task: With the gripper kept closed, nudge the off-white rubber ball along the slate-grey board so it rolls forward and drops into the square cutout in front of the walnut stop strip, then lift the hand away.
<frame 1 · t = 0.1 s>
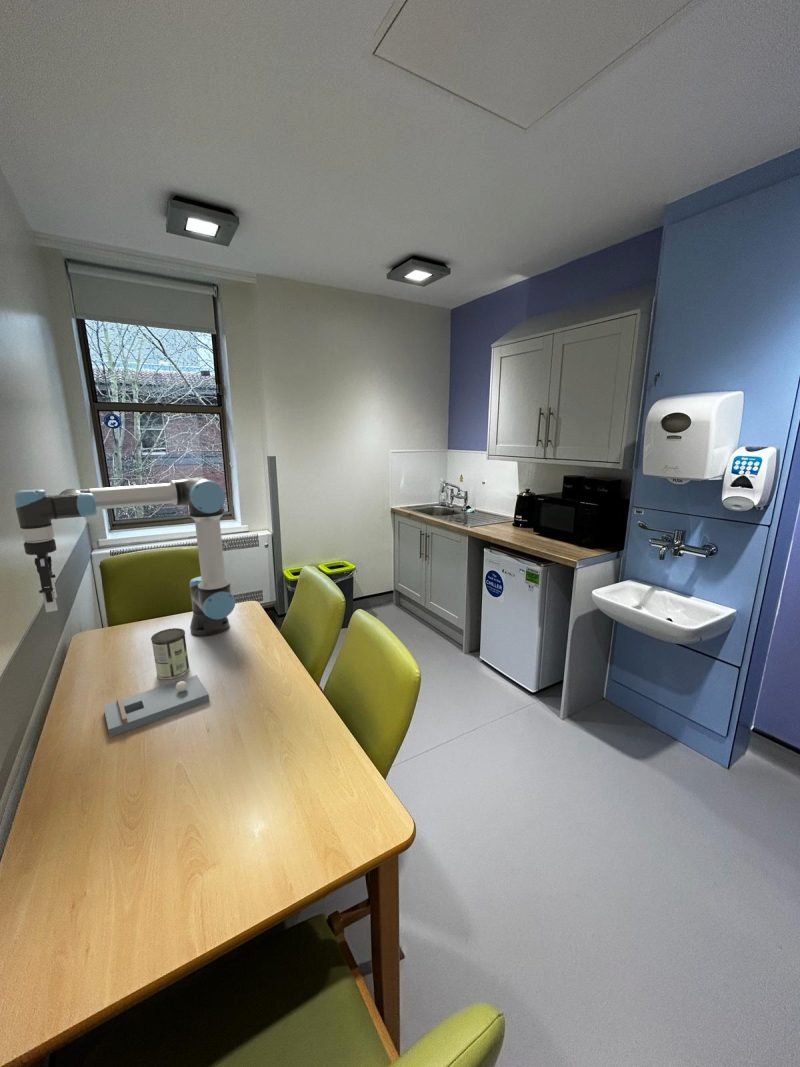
hand: (51, 604, 137), 28 cm above the table, fingers open, 13 cm apart
ball: (181, 686, 134), point 4 cm above the table, touching deck
deck: (158, 706, 131), on the table
coffee can: (173, 672, 150), on the table
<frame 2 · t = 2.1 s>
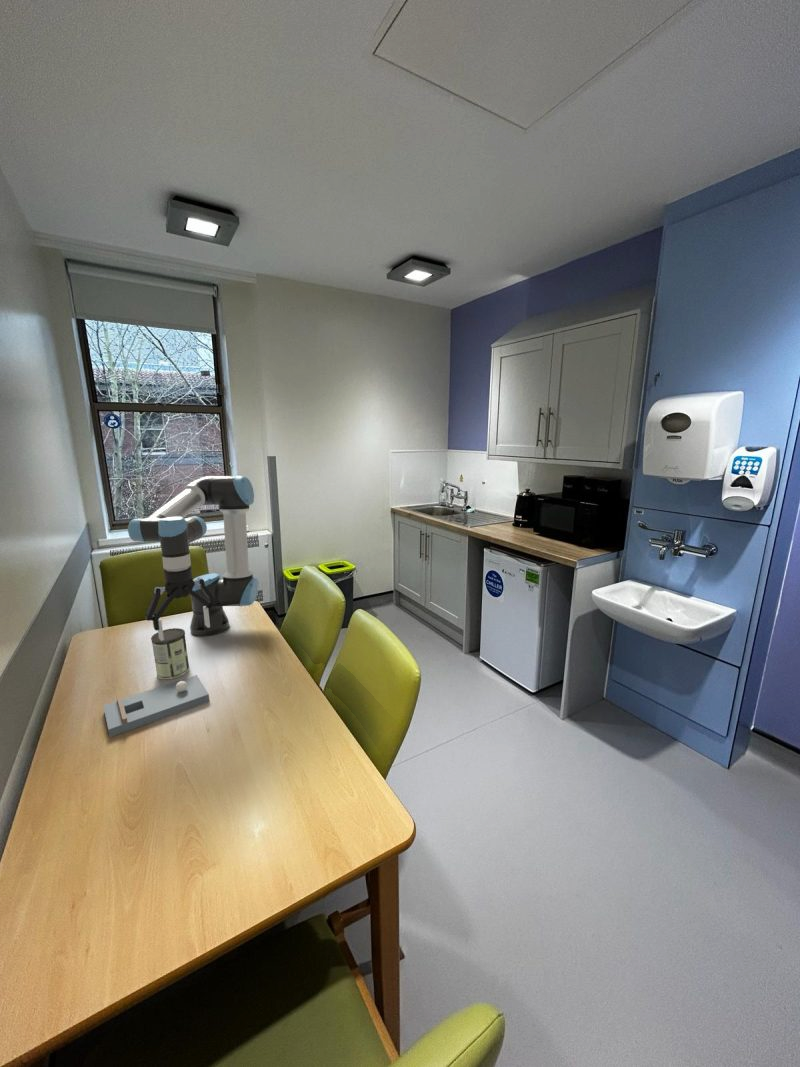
hand: (185, 632, 135), 20 cm above the table, fingers open, 13 cm apart
nothing on the table moved.
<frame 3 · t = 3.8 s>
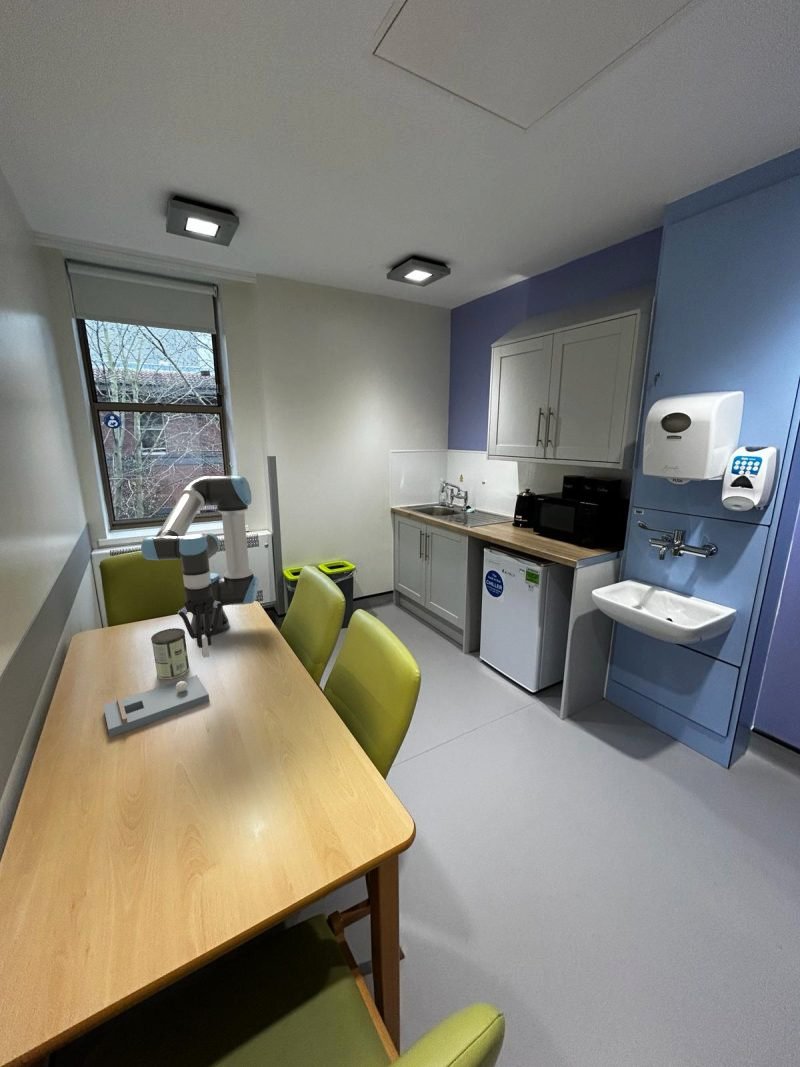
hand: (205, 655, 137), 12 cm above the table, fingers closed
nothing on the table moved.
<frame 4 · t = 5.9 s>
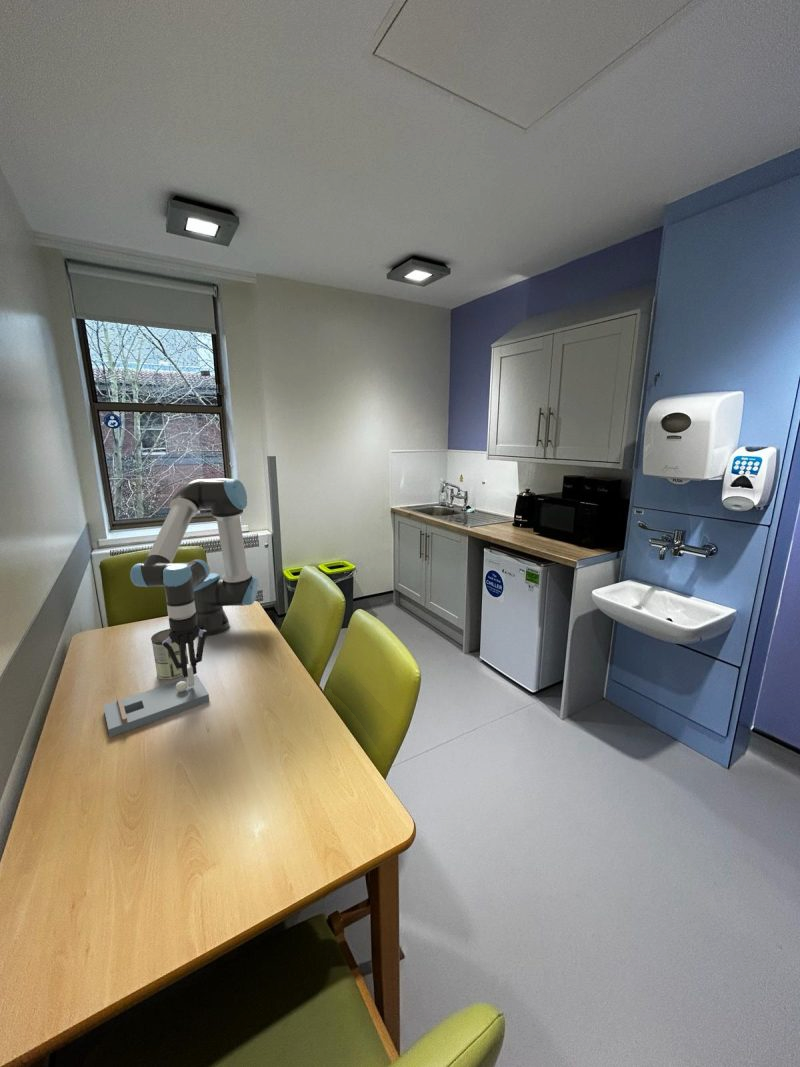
hand: (191, 684, 136), 4 cm above the table, fingers closed
nothing on the table moved.
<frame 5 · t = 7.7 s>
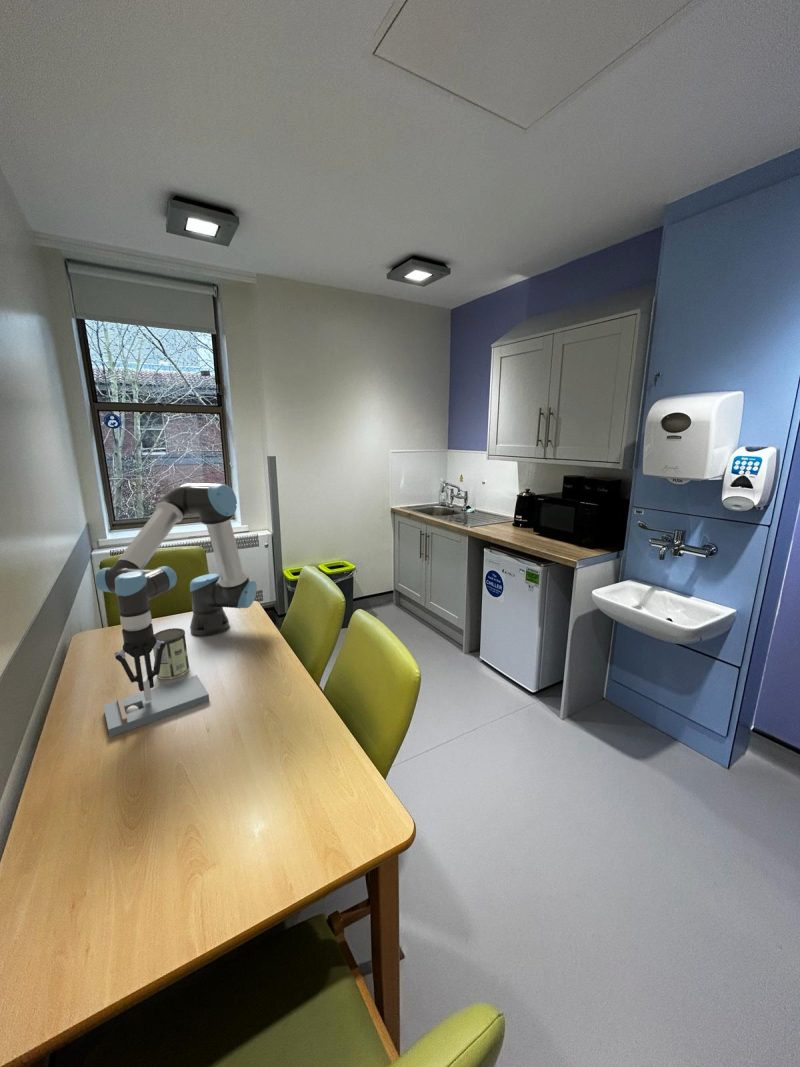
hand: (148, 698, 128), 4 cm above the table, fingers closed
ball: (132, 711, 126), point 2 cm above the table, tilted 156°
everything else where it was.
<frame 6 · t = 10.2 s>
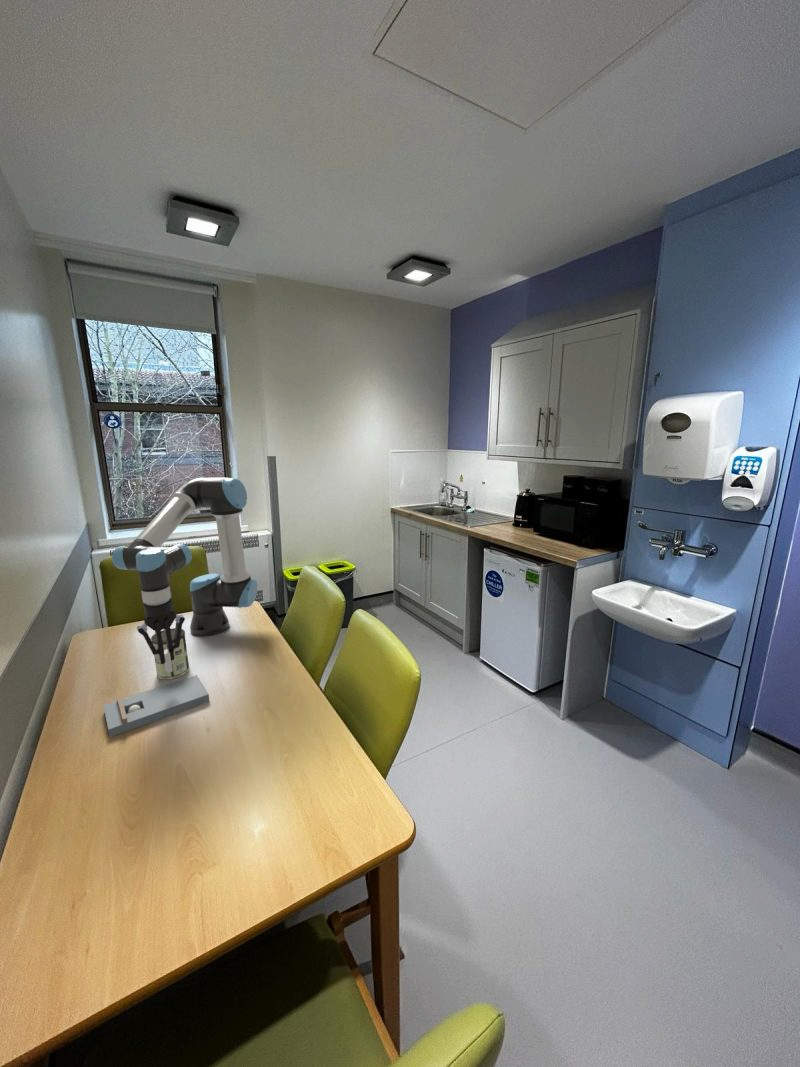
hand: (169, 670, 134), 9 cm above the table, fingers closed
ball: (134, 710, 126), point 2 cm above the table, tilted 137°
everything else where it was.
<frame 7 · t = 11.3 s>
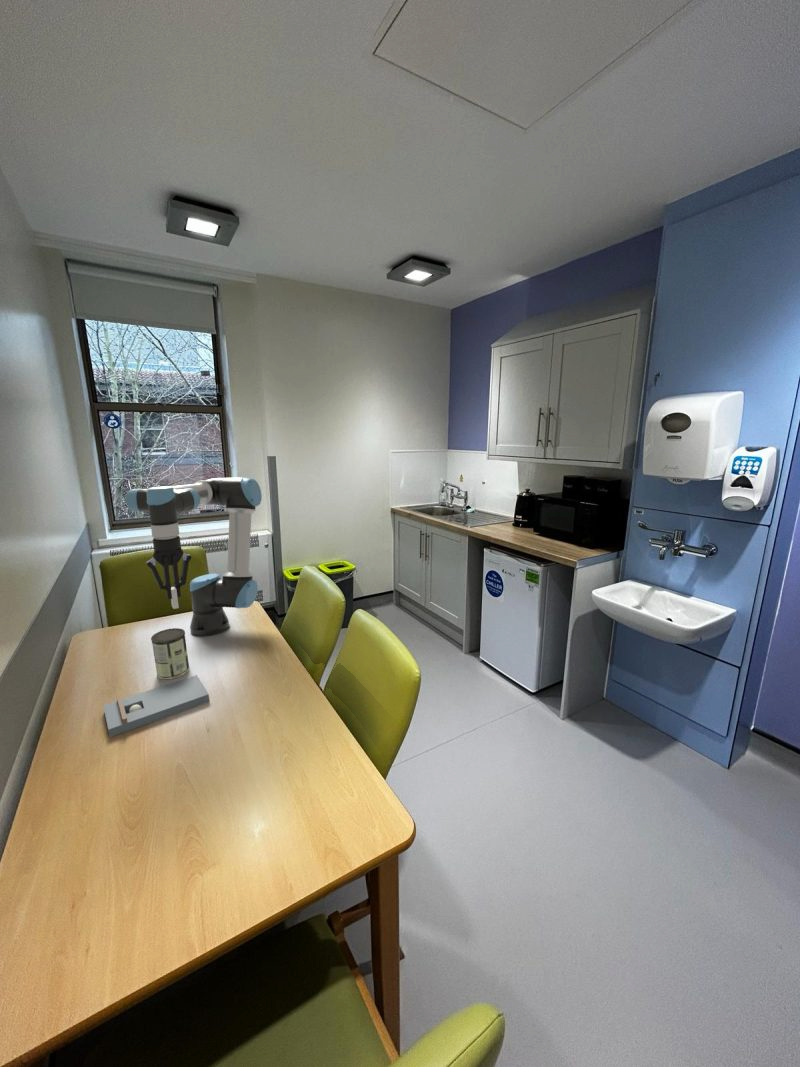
hand: (175, 607, 139), 26 cm above the table, fingers closed
ball: (135, 710, 126), point 2 cm above the table, tilted 128°
everything else where it was.
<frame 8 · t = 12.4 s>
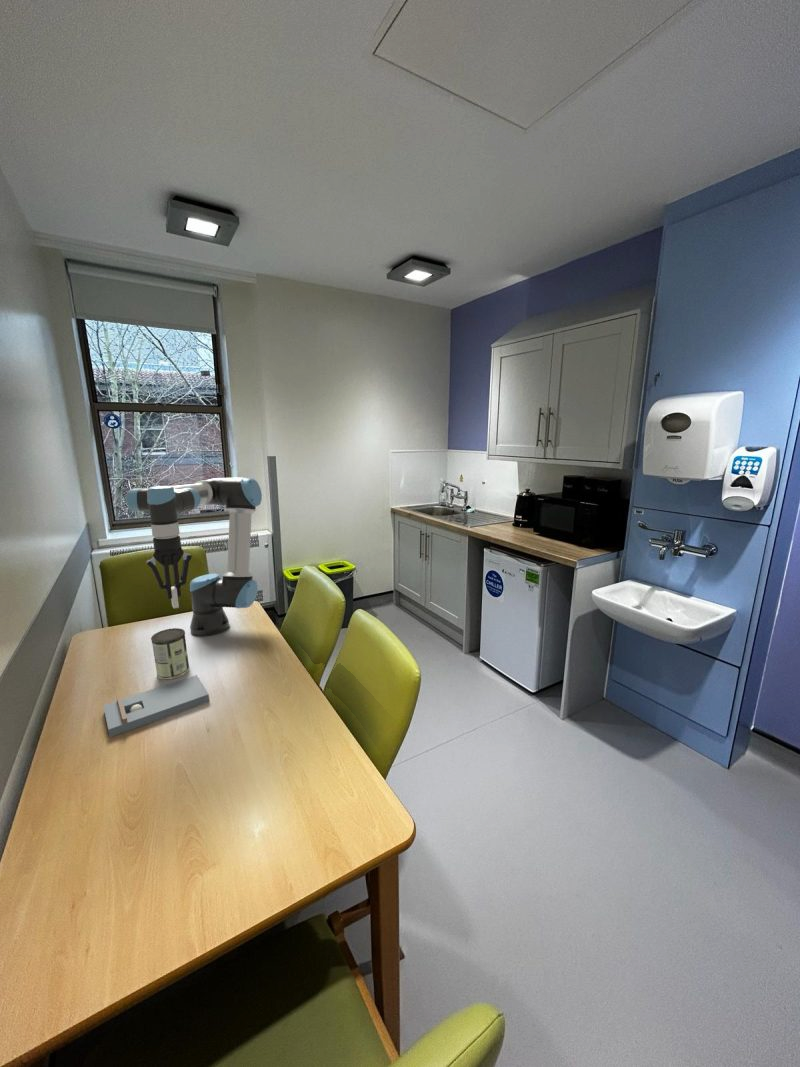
hand: (175, 606, 139), 26 cm above the table, fingers closed
ball: (136, 710, 127), point 2 cm above the table, tilted 120°
everything else where it was.
at the end: ball 0.7 cm from the target spot on the deck, point 1.6 cm above the deck's base; the gripper is holding nothing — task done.
